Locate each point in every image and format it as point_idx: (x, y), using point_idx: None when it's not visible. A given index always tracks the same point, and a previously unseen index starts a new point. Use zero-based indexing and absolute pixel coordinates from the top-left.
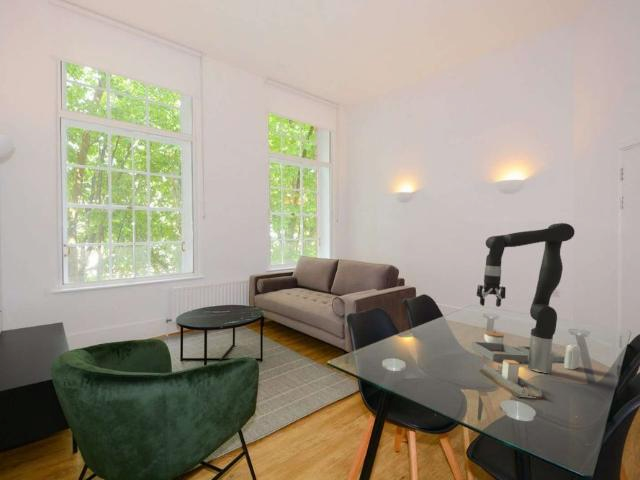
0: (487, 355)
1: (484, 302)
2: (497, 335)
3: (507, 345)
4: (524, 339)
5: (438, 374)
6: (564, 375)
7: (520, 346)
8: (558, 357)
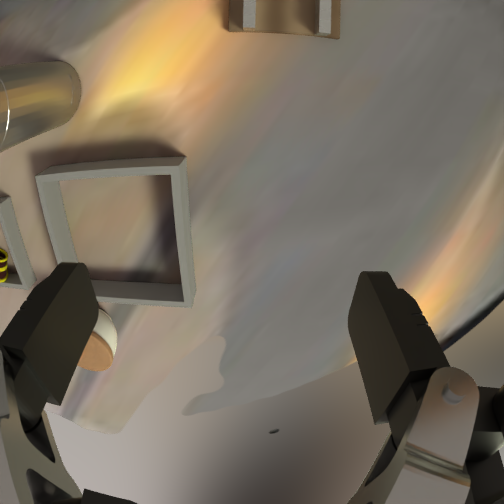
0: (186, 197)
1: (381, 307)
2: None
3: None
4: None
5: (494, 46)
6: None
7: (25, 285)
8: None
